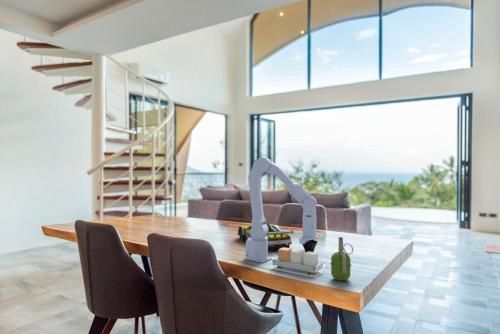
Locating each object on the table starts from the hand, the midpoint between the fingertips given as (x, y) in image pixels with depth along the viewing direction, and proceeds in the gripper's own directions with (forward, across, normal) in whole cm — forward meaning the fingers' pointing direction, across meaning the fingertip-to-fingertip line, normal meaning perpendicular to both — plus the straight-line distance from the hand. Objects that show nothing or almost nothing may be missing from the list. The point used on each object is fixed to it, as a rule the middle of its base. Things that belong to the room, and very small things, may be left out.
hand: (309, 258), depth 135 cm
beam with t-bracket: (+2, -8, 0) cm, 8 cm away
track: (+2, -8, 0) cm, 8 cm away
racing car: (+3, +20, +36) cm, 42 cm away
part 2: (0, -11, -6) cm, 13 cm away
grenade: (+2, -12, -18) cm, 22 cm away
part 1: (0, -11, 0) cm, 11 cm away
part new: (0, -11, +5) cm, 12 cm away
